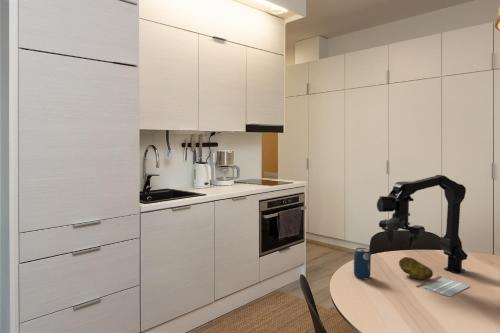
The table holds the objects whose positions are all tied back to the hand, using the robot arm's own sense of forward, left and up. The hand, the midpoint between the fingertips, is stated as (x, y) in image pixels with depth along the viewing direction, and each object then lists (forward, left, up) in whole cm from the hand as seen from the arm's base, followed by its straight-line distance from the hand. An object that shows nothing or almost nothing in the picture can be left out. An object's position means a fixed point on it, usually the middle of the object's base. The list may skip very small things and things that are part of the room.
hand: (400, 246), depth 161 cm
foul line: (-2, +12, -12) cm, 18 cm away
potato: (-2, +6, -13) cm, 14 cm away
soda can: (+16, -8, -13) cm, 22 cm away
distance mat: (-2, +20, -12) cm, 23 cm away
